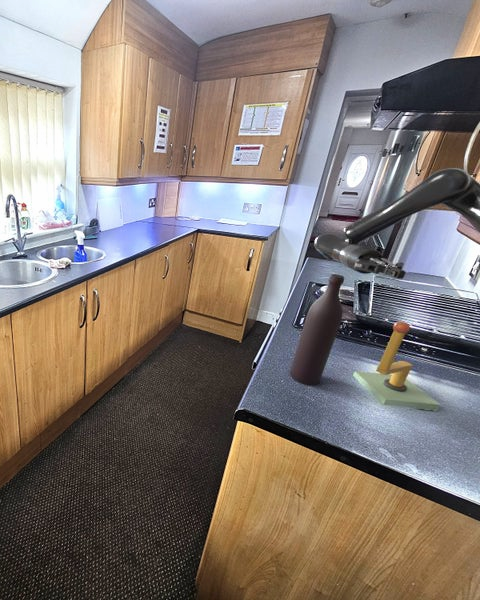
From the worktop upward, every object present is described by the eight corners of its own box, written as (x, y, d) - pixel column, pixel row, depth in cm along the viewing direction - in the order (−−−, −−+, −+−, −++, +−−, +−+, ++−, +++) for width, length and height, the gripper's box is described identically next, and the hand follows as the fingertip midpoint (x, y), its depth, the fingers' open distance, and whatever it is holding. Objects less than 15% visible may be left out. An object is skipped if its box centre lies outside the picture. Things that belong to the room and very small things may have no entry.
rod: (392, 379, 86) (423, 315, 78) (405, 386, 83) (437, 320, 76) (364, 386, 83) (392, 320, 75) (376, 393, 80) (406, 325, 73)
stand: (399, 381, 90) (403, 372, 89) (437, 411, 79) (442, 402, 78) (352, 377, 91) (355, 368, 90) (382, 405, 80) (386, 396, 79)
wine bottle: (325, 385, 87) (364, 280, 75) (300, 387, 87) (335, 281, 75) (306, 369, 94) (339, 270, 82) (283, 371, 93) (312, 271, 81)
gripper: (340, 245, 102) (379, 260, 86) (387, 247, 101) (435, 262, 85) (333, 268, 105) (369, 286, 89) (378, 271, 103) (423, 289, 88)
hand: (401, 275), depth 87 cm, fingers closed
